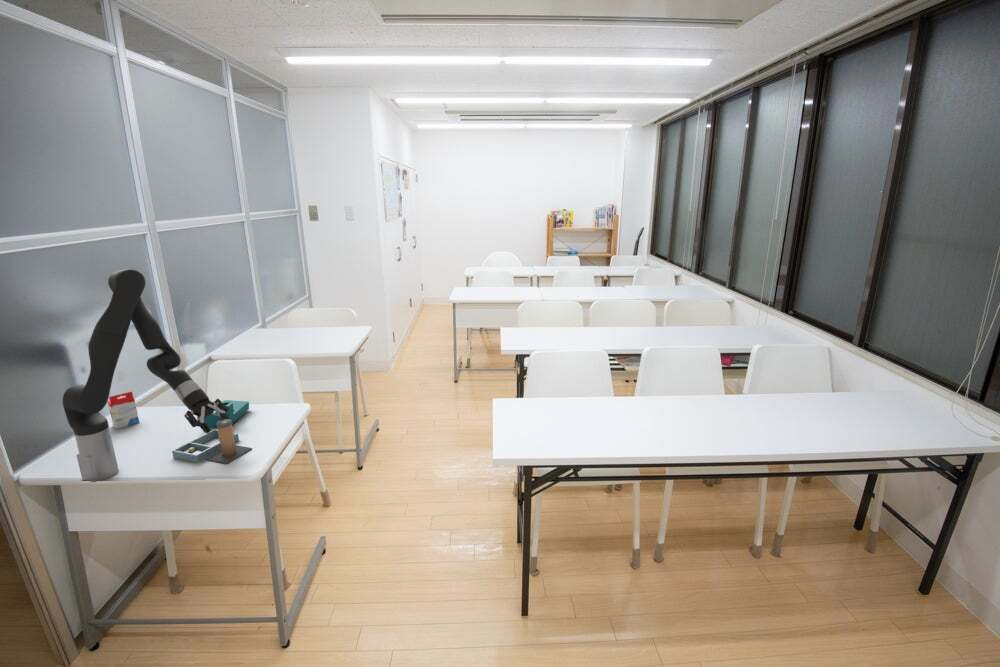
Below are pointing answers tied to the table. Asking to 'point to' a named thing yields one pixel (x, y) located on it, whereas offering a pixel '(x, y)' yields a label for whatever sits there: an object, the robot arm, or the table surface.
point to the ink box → (123, 410)
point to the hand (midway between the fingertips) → (219, 427)
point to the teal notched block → (228, 412)
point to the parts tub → (199, 448)
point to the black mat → (225, 460)
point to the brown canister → (226, 437)
